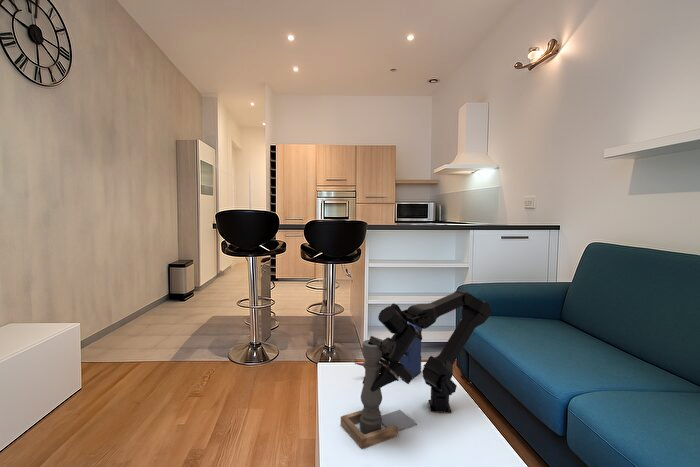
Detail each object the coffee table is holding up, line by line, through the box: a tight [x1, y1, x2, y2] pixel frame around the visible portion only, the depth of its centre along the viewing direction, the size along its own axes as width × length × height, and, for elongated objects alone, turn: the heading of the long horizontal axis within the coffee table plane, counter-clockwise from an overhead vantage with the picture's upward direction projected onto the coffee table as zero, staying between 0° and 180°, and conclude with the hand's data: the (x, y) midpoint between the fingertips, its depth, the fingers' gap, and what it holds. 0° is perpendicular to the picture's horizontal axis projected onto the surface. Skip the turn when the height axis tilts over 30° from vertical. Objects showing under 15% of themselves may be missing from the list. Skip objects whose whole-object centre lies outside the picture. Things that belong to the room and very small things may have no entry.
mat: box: [381, 409, 418, 432], centre depth 106 cm, size 9×8×1 cm
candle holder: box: [359, 339, 383, 435], centre depth 101 cm, size 6×6×25 cm
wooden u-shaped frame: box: [340, 409, 399, 449], centre depth 101 cm, size 12×12×2 cm
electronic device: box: [398, 322, 423, 379], centre depth 136 cm, size 10×5×20 cm, turn 141°
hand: (367, 387), depth 100 cm, fingers closed on candle holder, 4 cm apart
